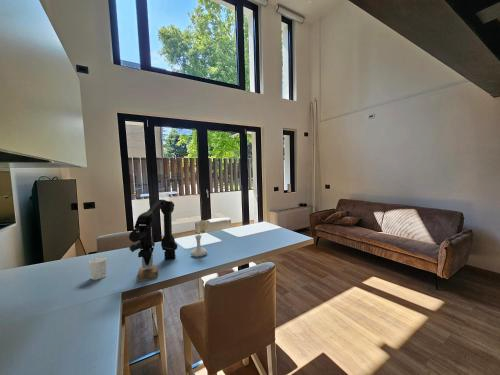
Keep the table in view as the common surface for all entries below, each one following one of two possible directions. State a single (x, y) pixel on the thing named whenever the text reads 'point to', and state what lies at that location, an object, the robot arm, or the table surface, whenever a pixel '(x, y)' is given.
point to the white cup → (98, 268)
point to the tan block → (147, 273)
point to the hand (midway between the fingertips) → (147, 263)
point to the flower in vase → (199, 250)
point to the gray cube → (149, 262)
